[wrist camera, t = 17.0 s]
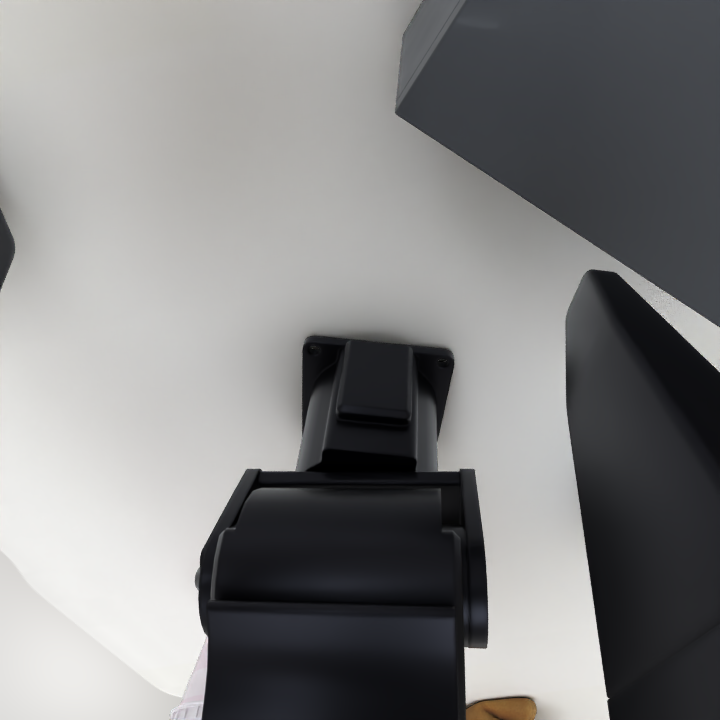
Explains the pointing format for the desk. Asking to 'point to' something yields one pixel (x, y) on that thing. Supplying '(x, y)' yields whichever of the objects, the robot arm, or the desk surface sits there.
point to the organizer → (586, 120)
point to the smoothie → (193, 691)
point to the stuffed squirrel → (503, 710)
